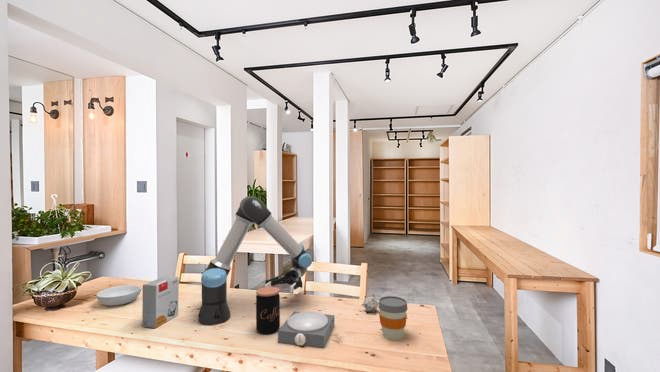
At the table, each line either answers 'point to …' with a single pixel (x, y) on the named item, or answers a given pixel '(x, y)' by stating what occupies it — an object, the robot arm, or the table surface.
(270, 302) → the coffee jar
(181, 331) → the table surface
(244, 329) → the table surface
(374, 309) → the game die
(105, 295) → the serving bowl
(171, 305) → the hard drive box
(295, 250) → the robot arm
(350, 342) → the table surface
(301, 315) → the kitchen scale
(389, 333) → the reusable coffee cup
